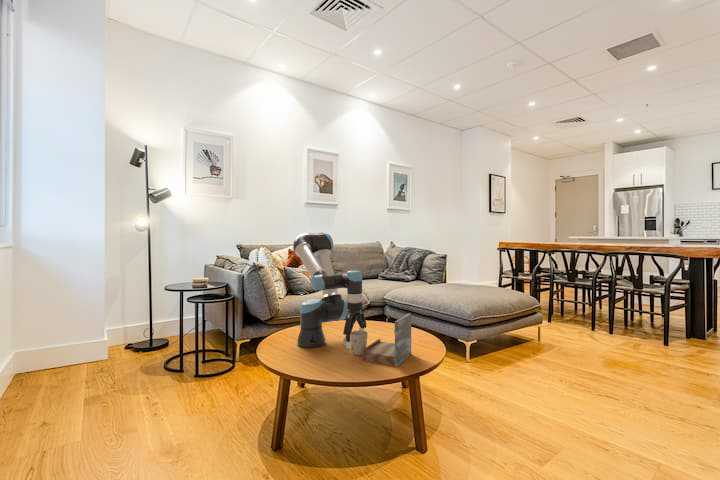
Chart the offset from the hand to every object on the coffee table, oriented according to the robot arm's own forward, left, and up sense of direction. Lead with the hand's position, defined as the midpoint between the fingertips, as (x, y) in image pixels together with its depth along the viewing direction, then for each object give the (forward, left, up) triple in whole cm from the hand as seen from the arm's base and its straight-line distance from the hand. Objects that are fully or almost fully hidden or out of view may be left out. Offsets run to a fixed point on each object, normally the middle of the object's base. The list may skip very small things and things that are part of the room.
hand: (355, 344), depth 177 cm
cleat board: (+17, +1, -4) cm, 17 cm away
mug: (0, 0, -4) cm, 4 cm away
